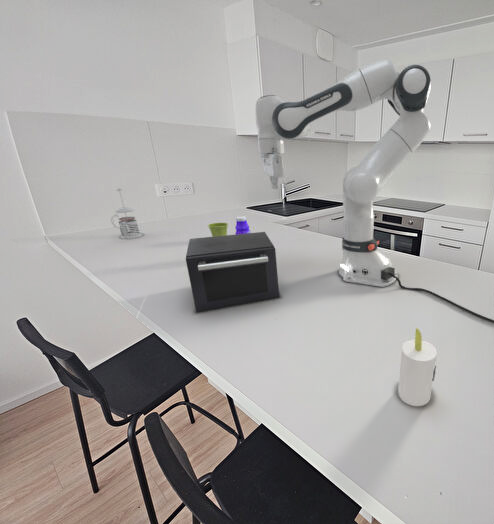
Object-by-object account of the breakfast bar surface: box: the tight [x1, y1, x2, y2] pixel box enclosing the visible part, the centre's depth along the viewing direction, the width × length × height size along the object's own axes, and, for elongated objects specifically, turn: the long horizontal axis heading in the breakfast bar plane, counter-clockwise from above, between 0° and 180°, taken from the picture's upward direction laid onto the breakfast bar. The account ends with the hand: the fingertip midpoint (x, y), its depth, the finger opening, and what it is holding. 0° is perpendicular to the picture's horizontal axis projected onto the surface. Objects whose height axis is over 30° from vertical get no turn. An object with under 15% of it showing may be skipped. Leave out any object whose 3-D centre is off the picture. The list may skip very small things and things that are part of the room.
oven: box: [185, 231, 275, 258], centre depth 97 cm, size 18×24×17 cm
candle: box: [397, 327, 438, 407], centre depth 56 cm, size 6×6×15 cm
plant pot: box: [207, 222, 229, 237], centre depth 150 cm, size 9×9×9 cm
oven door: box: [185, 246, 280, 313], centre depth 86 cm, size 5×24×17 cm, turn 114°
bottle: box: [234, 215, 252, 235], centre depth 129 cm, size 7×6×17 cm
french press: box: [110, 187, 143, 240], centre depth 153 cm, size 10×12×25 cm
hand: (274, 188), depth 109 cm, fingers closed
